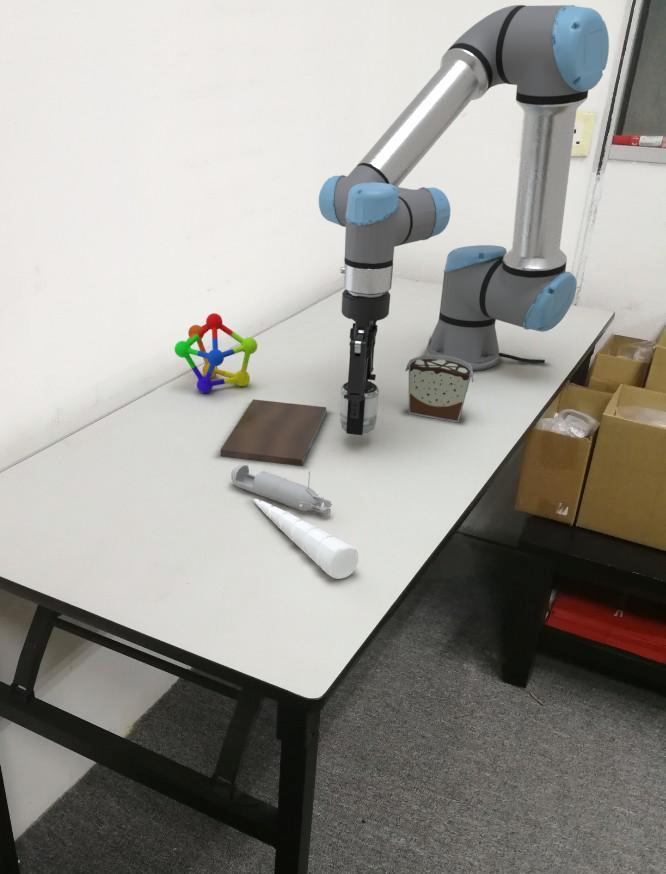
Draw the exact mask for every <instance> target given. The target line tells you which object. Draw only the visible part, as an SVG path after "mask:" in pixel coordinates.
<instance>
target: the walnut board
mask: <svg viewBox="0 0 666 874" xmlns="http://www.w3.org/2000/svg"><path fill="white" fill-rule="evenodd" d="M326 415H327V407H326V406H318V405H310V404H309V405H308V404H301V403H292V402H290V403H289V402H282V401H281V402H280V401H273V400H272V401H270V400H265V399H264V400H263V399H252V400H251V402H250V403H249V404H248V407H246V409H245V411H244V412H243V414H242V415H241V417H240V419H239V420H238V422H237V423H236V425H235V426H234V428H233V430H232V431H231V433H230V434H229V436H228V437H227V439H226V440H225V442H224V443H223V445H222V447H220V457H226V458H234V459H243V460H251V461H259V462H260V461H261V462H266V463H274V464H275V463H276V464H285V465H292V466H300V467H303V465H304V464H305V462H306V459H307V457H308V455H309V452H310V450H311V448H312V446H313V444H314V441H315V439H316V436H317V434H318V432H319V430H320V428H321V426H322V423H323V421H324V419H325V417H326Z"/></svg>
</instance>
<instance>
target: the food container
mask: <svg viewBox="0 0 666 874" xmlns="http://www.w3.org/2000/svg"><path fill="white" fill-rule="evenodd" d="M406 364H407V365H406V367H405V372H408V415H415V416H420V417H425V418H430V419H437V420H443V421H445V422H446V421H447V422H451V423H452V422H453V423H459V422H460V420H461V415H462V412H463V407H464V404H465V400H466V396H467V393H468V388H469V385H470V382H471V383H474V370H472V367H471V365H470V364H468V363H467V362H465V361H463V360H461V359H458V358H454V357H449V356H442V355H426V354H425V355H419V356H416V357H413V358H411V359H409V360H408V363H406Z"/></svg>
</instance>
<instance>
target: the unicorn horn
mask: <svg viewBox="0 0 666 874" xmlns="http://www.w3.org/2000/svg"><path fill="white" fill-rule="evenodd" d="M253 502H254V503H255V505H256V506H257V507H258V508H259V509H260V510H261V512H262V513H264V515H266V517H268V519H270V521H271V522H272V523H274V524H275V525H276V526H277V528H278V529H280V530H281V531H282V532H283V533H284V534H285V536H287V537H288V538H289V539H290V540H291V541H292V542H293V543H294V544H295V545H296V546H297V547H298V548H300V550H302V551H303V553H305V554H306V555H307V556H308V557H309V558H310V559H311V560H312V561H313V562H314V563H315V564H316V565H317V566H318V567H320V568H321V570H323V572H325V573H326V574H327V576H329V577H330V578H333V579H334V580H335V579H337V580H342V579H344V578H348V577H349V576H350V575H352V574H353V573H354V571H355V570H356V569H357V566H358V564H359V563H358V562H359V552H358V550H357V548H356V547H354V546H352V545H351V544H349V543H348V542H345V541H343V540H342V539H340V538H337V537H336V536H333V535H332V534H330V533H328V532H326V531H324V530H322V529H321V528H318V527H317V526H315V525H313V524H311V523H310V522H308V521H306V520H303V519H301V518H299V517H298V516H296V515H293V514H292V513H290V512H288V511H286V510H283V509H282V508H279V507H277V506H274V505H273V504H271V503H269V502H267V501H264V500H260V499H258V498H253Z"/></svg>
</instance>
